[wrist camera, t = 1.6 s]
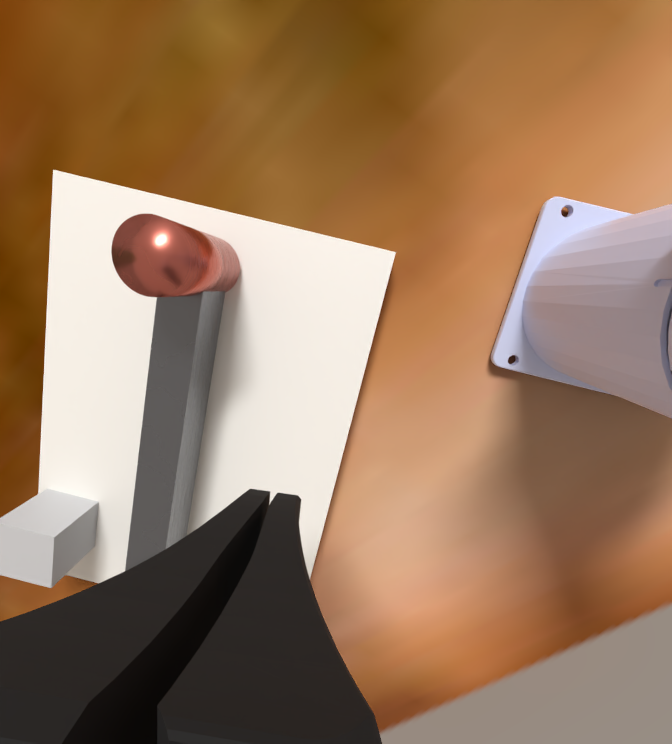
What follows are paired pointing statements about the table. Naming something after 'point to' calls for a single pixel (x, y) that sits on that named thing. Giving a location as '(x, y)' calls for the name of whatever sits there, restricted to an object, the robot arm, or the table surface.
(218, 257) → the lever
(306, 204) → the table surface
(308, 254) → the white flat block
